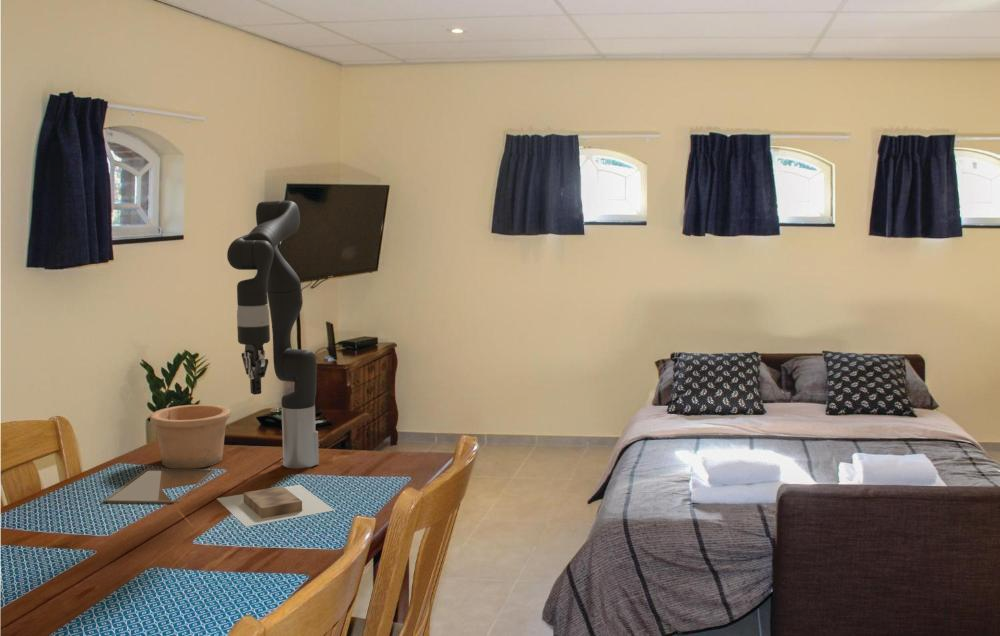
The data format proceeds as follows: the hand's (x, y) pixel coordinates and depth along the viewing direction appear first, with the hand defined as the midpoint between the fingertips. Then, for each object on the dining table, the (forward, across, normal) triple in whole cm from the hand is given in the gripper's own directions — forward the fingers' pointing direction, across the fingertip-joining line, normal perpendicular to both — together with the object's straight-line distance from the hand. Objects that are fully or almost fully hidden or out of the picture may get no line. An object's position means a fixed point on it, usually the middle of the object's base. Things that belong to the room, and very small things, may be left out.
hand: (256, 393), depth 231 cm
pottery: (+29, +50, +3) cm, 58 cm away
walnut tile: (+27, +4, -2) cm, 27 cm away
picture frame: (+29, +30, +16) cm, 45 cm away
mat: (+28, -2, -3) cm, 29 cm away
